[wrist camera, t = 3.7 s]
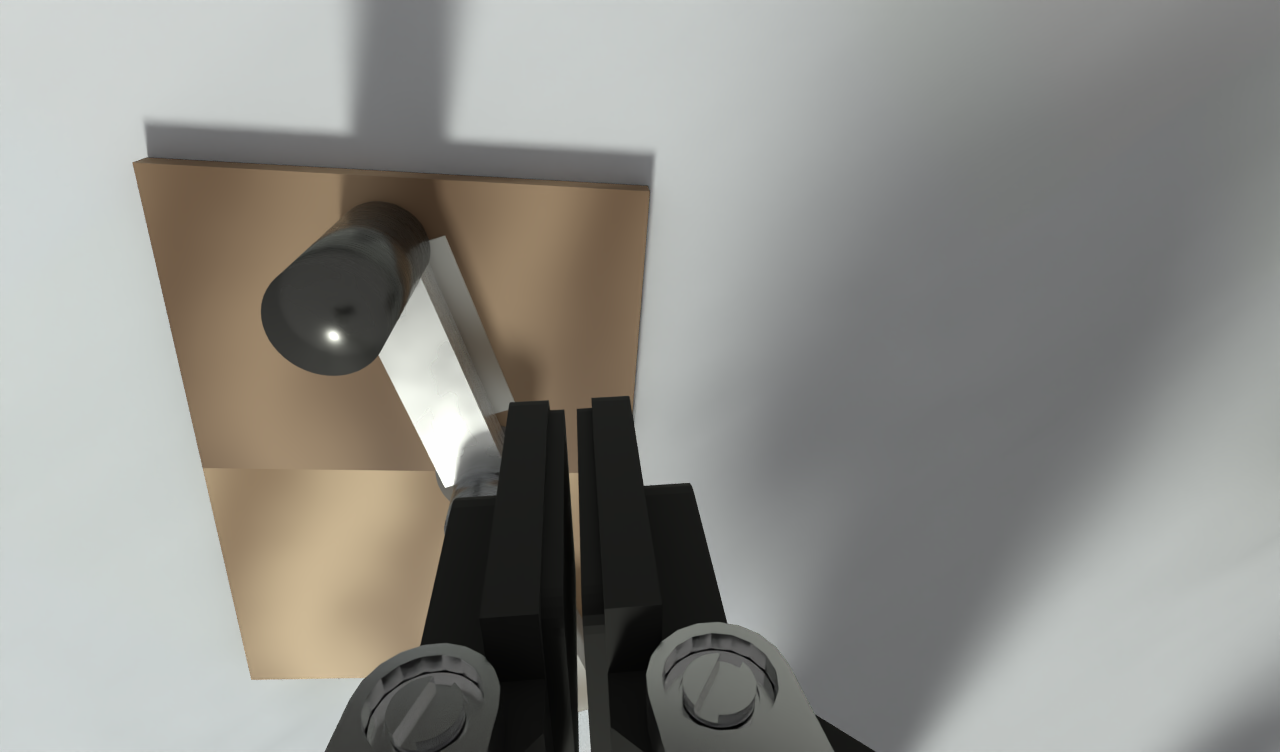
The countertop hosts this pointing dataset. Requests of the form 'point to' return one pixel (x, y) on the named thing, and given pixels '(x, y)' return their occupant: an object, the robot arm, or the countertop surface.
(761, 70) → the countertop surface
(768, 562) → the countertop surface
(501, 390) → the plate
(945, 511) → the countertop surface
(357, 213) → the swing bar
